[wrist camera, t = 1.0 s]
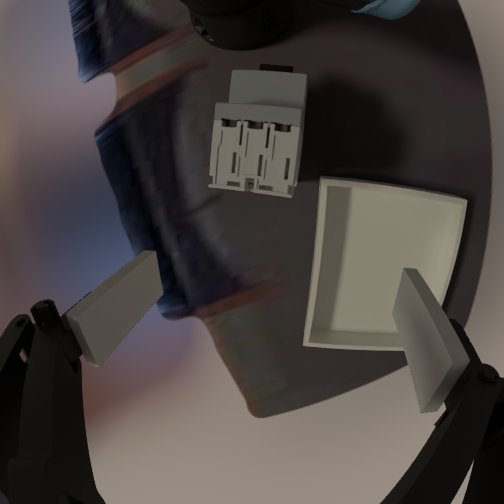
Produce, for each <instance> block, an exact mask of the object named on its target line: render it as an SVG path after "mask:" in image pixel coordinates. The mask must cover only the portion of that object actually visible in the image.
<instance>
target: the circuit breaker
mask: <svg viewBox="0 0 504 504" xmlns="http://www.w3.org/2000/svg"><path fill="white" fill-rule="evenodd" d="M306 99H307V74H298V73H293V67H291V66H278V65H270V64H260V70H232V78H231V86H230V95H229V103H216V107H215V117H214V127H213V137H212V149H211V161H210V174H209V176H213V184H209V187H213V188H222V189H231V190H239V191H253V192H254V193H262V194H269V195H276V196H283V197H289V198H291V197H292V196H293V192H294V186H296V185H297V182H298V174H299V167H300V159H301V151H302V143H303V134H304V118H305V109H306Z"/></svg>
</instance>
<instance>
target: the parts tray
mask: <svg viewBox="0 0 504 504" xmlns="http://www.w3.org/2000/svg"><path fill="white" fill-rule="evenodd" d="M466 207H467V200H466V199H463V198H461V197H458V196H456V195H453V194H448V193H443V192H438V191H433V190H427V189H422V188H416V187H410V186H404V185H397V184H391V183H384V182H376V181H369V180H360V179H352V178H342V177H332V176H321V175H320V183H319V199H318V213H317V225H316V236H315V247H314V257H313V266H312V275H311V284H310V292H309V300H308V307H307V314H306V321H305V328H304V340H303V346H310V347H323V348H337V349H356V350H391V351H404V349H403V345H402V342H401V339H400V336H399V333H398V330H397V327H396V324H395V321H394V318H393V315H392V311H393V307H394V304H395V300H396V296H397V292H398V288H399V284H400V280H401V276H402V272H403V268H416V269H417V270H418V272H419V273H420V274H421V276H422V277H423V279H424V280H425V282H426V284H427V285H428V287H429V288H430V290H431V291H432V293H433V294H434V296H435V298H436V299H437V301H438V303H439V304H440V306H442V303H443V300H444V298H445V295H446V291H447V288H448V285H449V282H450V278H451V275H452V271H453V268H454V264H455V260H456V256H457V252H458V248H459V244H460V239H461V235H462V230H463V224H464V219H465V213H466Z"/></svg>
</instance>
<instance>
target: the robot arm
mask: <svg viewBox="0 0 504 504" xmlns="http://www.w3.org/2000/svg"><path fill="white" fill-rule="evenodd" d="M180 1H181V2H182V3H184V4H185V5H186V6H187V7H188V8H189V13H190V18H191V22H192V25H193V27H194V29H195V30H196V32H197V33H198V34H199V35H200V36H201V37H202V38H203V39H204V40H205V41H207V42H208V43H210V44H211V45H213V46H215V47H218V48H221V49H226V50H248V49H253V48H257V47H260V46H263V45H265V44H268V43H270V42H271V41H273V40H275V39H276V38H278V37H279V36H280V35H281V34H282V33H284V31H285V30H286V29H287V28H288V26H289V25H290V23H291V21H292V19H293V15H294V6H293V0H180ZM307 1H313V2H318V3H323V4H328V5H333V6H337V7H341V8H345V9H349V10H351V11H352V12H355V13H366V14H370V15H373V16H377V17H380V18H383V19H389V20H393V19H397V18H400V17H403V16H405V15H407V14H408V13H410V12H411V11H412V10H413V9H414V8H415V7H416V6H417V4H418V3H419V2H420V0H307ZM162 295H163V289H162V284H161V279H160V274H159V268H158V262H157V257H156V251H143V252H142V253H141V254H139V255H138V256H137V257H135V258H134V259H133V260H131V261H130V262H129V263H127V264H126V265H125V266H124V267H122V268H121V269H120V270H118V271H117V272H116V273H115V274H113V275H112V276H111V277H109V278H108V279H107V280H106V281H104V282H103V283H102V284H101V285H99V286H98V287H97V288H96V289H94V290H93V291H91V292H89V293H88V294H87V295H86V296H84V297H83V299H81V300H80V301H79V302H78V303H76V304H75V305H74V306H72V307H71V308H70V309H69V310H68V311H67V312H65V313H64V314H63V315H62V316H61V317H60V316H59V313H58V311H57V308H56V306H55V303H54V301H53V300H49V299H47V300H42V301H39V302H38V303H36V304H35V305H34V306H32V308H31V309H30V311H31V313H32V316H33V318H34V320H35V322H36V324H33V323H32V321H31V319H30V317H29V316H28V315H27V314H22V315H21V314H20V315H18V316H16V317H15V318H14V319H13V320H12V321H11V322H10V323H9V325H8V326H7V328H6V329H5V331H4V333H3V334H2V336H1V337H0V504H106V503H105V502H104V500H103V498H102V497H101V496H100V494H99V493H98V491H97V489H96V485H95V481H94V476H93V472H92V467H91V462H90V457H89V450H88V444H87V437H86V429H85V420H84V410H83V397H82V396H83V395H82V369H81V368H82V366H81V365H82V364H81V361H80V359H79V357H80V356H81V355H82V354H83V355H84V357H85V359H86V361H87V362H88V363H89V364H91V365H93V366H96V367H98V368H100V366H101V365H102V364H103V363H104V362H105V360H106V359H107V358H108V357H109V356H110V354H111V353H112V352H113V351H114V350H115V348H116V347H117V346H118V345H119V344H120V343H121V341H122V340H123V339H124V338H125V337H126V336H127V334H128V333H129V332H130V331H131V330H132V329H133V328H134V326H135V325H136V324H137V323H138V322H139V321H140V319H141V318H142V317H143V316H144V315H145V314H146V312H148V310H149V309H150V308H151V307H152V306H153V305H154V304H155V303H156V301H157V300H158V299H159V298H160V297H161V296H162ZM392 315H393V318H394V321H395V324H396V327H397V330H398V333H399V336H400V339H401V342H402V345H403V349H404V352H405V355H406V358H407V362H408V365H409V369H410V372H411V376H412V380H413V383H414V387H415V391H416V395H417V399H418V404H419V408H420V413H428V412H435V411H437V410H438V409H439V408H440V406H441V405H442V404H443V402H444V403H445V406H446V410H445V412H444V413H443V414H442V416H441V417H440V418H439V419H438V421H437V422H436V423H435V424H434V425H435V426H436V427H435V429H434V430H433V432H432V434H431V435H430V437H429V439H428V440H427V442H426V444H425V445H424V447H423V448H422V450H421V452H420V453H419V454H418V456H417V457H416V459H415V460H414V462H413V463H412V464H411V466H410V467H409V469H408V470H407V471H406V473H405V474H404V475H403V477H402V478H401V480H399V482H398V483H397V484H396V486H395V487H394V488H393V489H392V490H391V492H390V493H389V494H388V495H387V496H386V497H385V499H384V500H383V501H382V502H381V503H380V504H451V502H452V500H453V499H454V497H455V495H456V494H457V492H458V490H459V488H460V487H461V485H462V483H463V481H464V479H465V477H466V475H467V473H468V471H469V469H470V467H471V465H472V463H473V460H474V463H473V467H472V472H471V475H470V480H469V483H468V486H467V490H466V493H465V496H464V499H463V502H462V504H504V378H501V377H500V376H499V374H498V372H497V371H496V370H495V368H493V367H492V366H490V365H488V364H482V362H481V361H480V359H479V357H478V355H477V353H476V351H475V349H474V347H473V345H472V343H471V342H470V340H469V338H468V336H466V333H465V331H464V329H463V328H462V326H461V325H460V324H459V323H458V322H457V321H456V320H454V319H448V318H447V316H446V314H445V313H444V311H443V309H442V308H441V306H440V304H439V303H438V301H437V299H436V298H435V296H434V294H433V293H432V291H431V290H430V288H429V287H428V285H427V284H426V282H425V280H424V279H423V277H422V276H421V274H420V273H419V272H418V270H417V269H416V268H403V272H402V276H401V280H400V284H399V288H398V292H397V296H396V300H395V304H394V307H393V311H392ZM21 350H22V352H23V354H24V356H25V357H26V361H25V362H23V360H22V359H21V357H20V355H19V354H20V352H21Z"/></svg>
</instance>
